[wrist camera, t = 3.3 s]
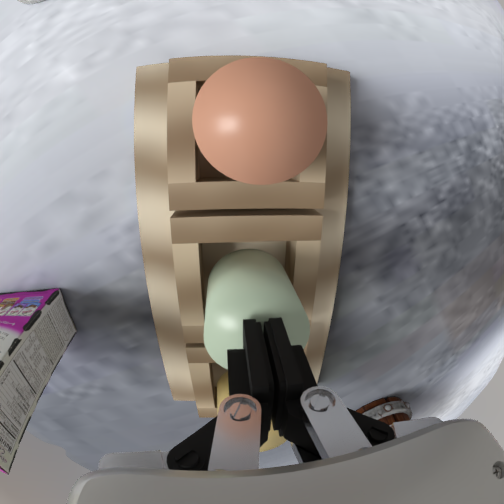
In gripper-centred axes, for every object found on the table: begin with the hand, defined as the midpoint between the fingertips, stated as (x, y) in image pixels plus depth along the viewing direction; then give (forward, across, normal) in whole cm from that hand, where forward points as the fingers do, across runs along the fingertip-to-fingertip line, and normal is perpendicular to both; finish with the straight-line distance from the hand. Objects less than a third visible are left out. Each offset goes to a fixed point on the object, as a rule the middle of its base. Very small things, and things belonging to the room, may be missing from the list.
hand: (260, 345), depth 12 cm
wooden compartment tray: (+9, 0, 0) cm, 9 cm away
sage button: (+5, 0, 0) cm, 5 cm away
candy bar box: (+9, +21, +5) cm, 24 cm away
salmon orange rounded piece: (+5, 0, -9) cm, 11 cm away
